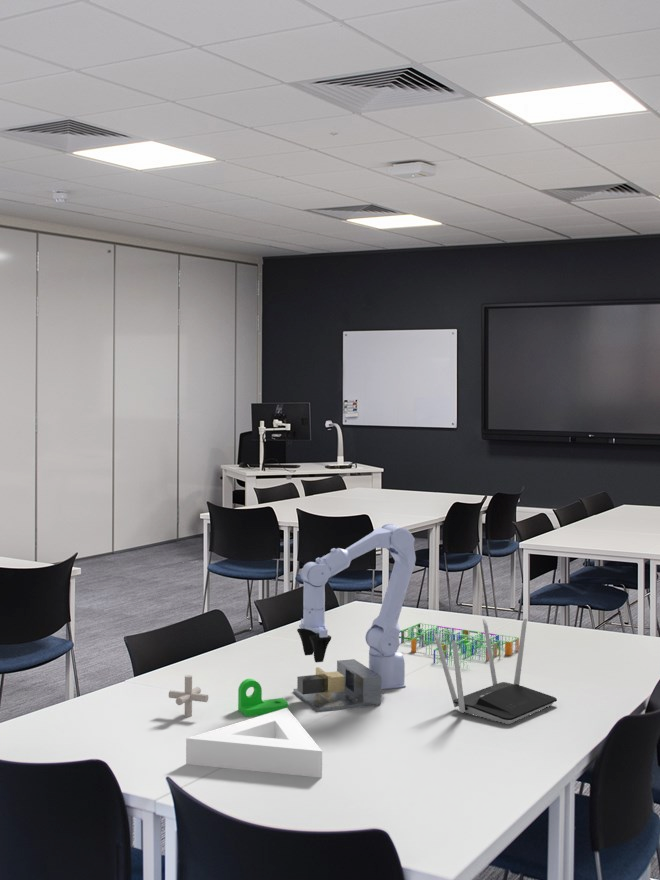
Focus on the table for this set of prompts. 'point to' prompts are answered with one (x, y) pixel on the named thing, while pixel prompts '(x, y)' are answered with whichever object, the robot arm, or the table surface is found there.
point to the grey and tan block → (321, 683)
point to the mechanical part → (257, 700)
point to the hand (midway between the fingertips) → (313, 658)
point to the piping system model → (465, 637)
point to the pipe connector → (188, 696)
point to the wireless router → (496, 689)
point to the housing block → (349, 689)
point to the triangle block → (259, 746)
